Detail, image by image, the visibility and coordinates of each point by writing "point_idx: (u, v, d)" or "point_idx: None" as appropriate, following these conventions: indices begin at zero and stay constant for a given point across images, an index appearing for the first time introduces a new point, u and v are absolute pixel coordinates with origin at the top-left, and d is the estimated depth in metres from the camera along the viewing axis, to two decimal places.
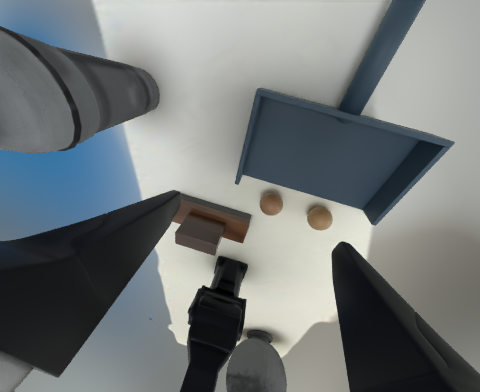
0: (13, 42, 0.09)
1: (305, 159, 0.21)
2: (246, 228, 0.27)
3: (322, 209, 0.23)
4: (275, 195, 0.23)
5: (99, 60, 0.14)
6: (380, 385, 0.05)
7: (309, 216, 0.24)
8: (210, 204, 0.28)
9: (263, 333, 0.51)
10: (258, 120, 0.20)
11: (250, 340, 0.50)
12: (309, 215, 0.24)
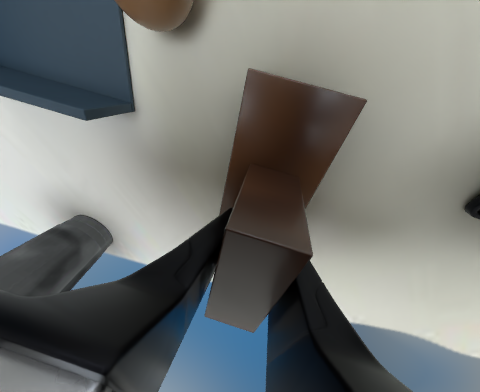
0: None
1: None
2: (267, 80, 0.06)
3: None
4: None
5: None
6: (282, 352, 0.06)
7: None
8: None
9: None
10: (17, 66, 0.10)
11: None
12: None
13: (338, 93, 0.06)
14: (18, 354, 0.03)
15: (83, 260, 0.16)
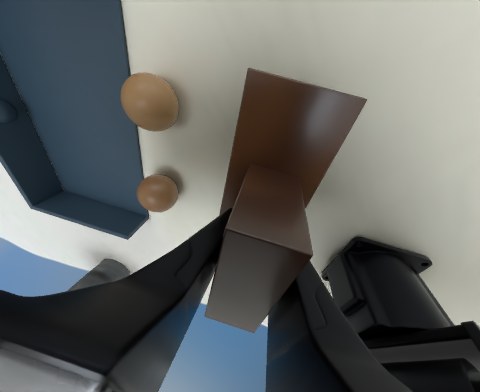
0: None
1: (91, 143, 0.15)
2: (267, 80, 0.06)
3: None
4: None
5: None
6: (282, 352, 0.06)
7: (148, 129, 0.11)
8: None
9: None
10: (85, 195, 0.19)
11: None
12: None
13: (338, 92, 0.06)
14: (18, 354, 0.03)
15: None
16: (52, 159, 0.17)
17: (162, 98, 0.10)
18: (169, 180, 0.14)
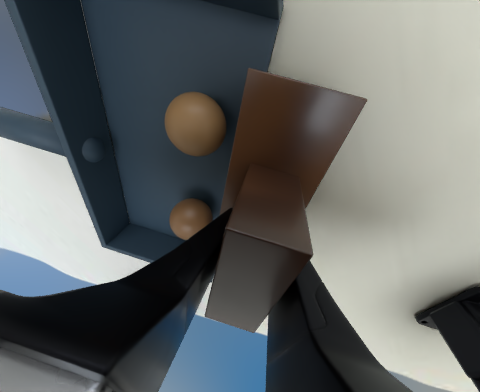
0: None
1: (181, 180, 0.14)
2: (267, 80, 0.06)
3: (220, 141, 0.09)
4: None
5: None
6: (282, 352, 0.06)
7: None
8: None
9: None
10: (153, 229, 0.18)
11: None
12: None
13: (338, 92, 0.06)
14: (18, 354, 0.03)
15: None
16: (126, 193, 0.16)
17: None
18: (179, 205, 0.12)
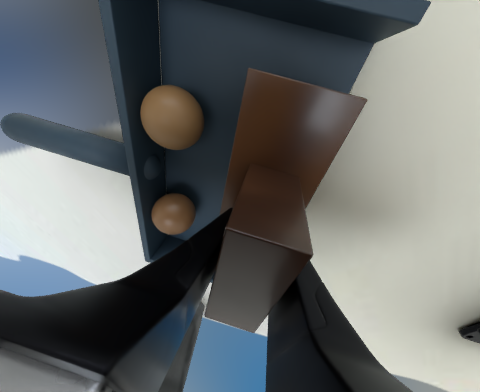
0: None
1: None
2: (267, 79, 0.06)
3: None
4: None
5: None
6: (282, 352, 0.06)
7: None
8: None
9: None
10: None
11: None
12: None
13: (338, 92, 0.06)
14: (18, 354, 0.03)
15: (197, 333, 0.23)
16: None
17: (173, 113, 0.08)
18: (186, 204, 0.13)
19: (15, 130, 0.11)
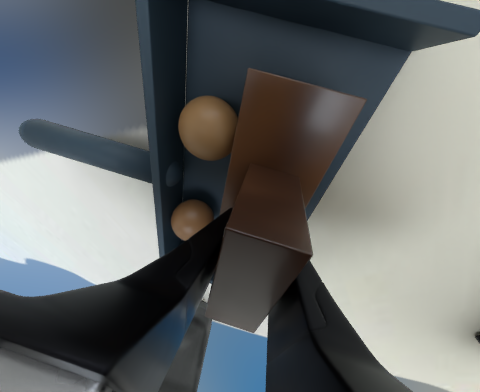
0: None
1: None
2: (267, 79, 0.06)
3: None
4: None
5: None
6: (282, 352, 0.06)
7: None
8: None
9: None
10: None
11: None
12: None
13: (338, 92, 0.06)
14: (18, 354, 0.03)
15: (207, 338, 0.23)
16: None
17: (226, 126, 0.08)
18: (206, 210, 0.13)
19: (34, 137, 0.11)
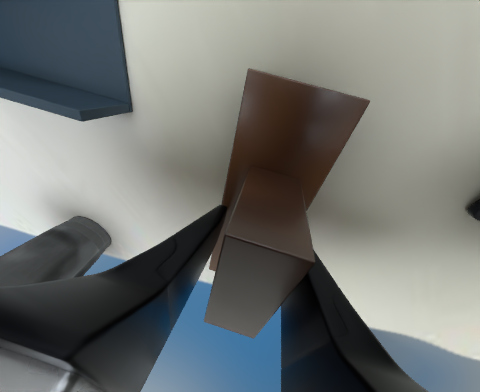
0: None
1: None
2: (267, 81, 0.06)
3: None
4: None
5: None
6: (299, 358, 0.06)
7: None
8: None
9: None
10: (12, 66, 0.10)
11: None
12: None
13: (340, 94, 0.06)
14: None
15: (81, 262, 0.16)
16: None
17: None
18: None
19: None
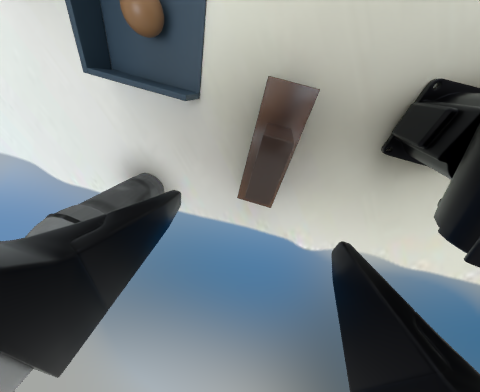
0: None
1: None
2: (276, 81, 0.14)
3: None
4: (133, 3, 0.13)
5: None
6: (380, 385, 0.05)
7: None
8: None
9: None
10: (134, 73, 0.19)
11: None
12: None
13: (307, 86, 0.14)
14: None
15: None
16: (106, 20, 0.16)
17: None
18: None
19: None
